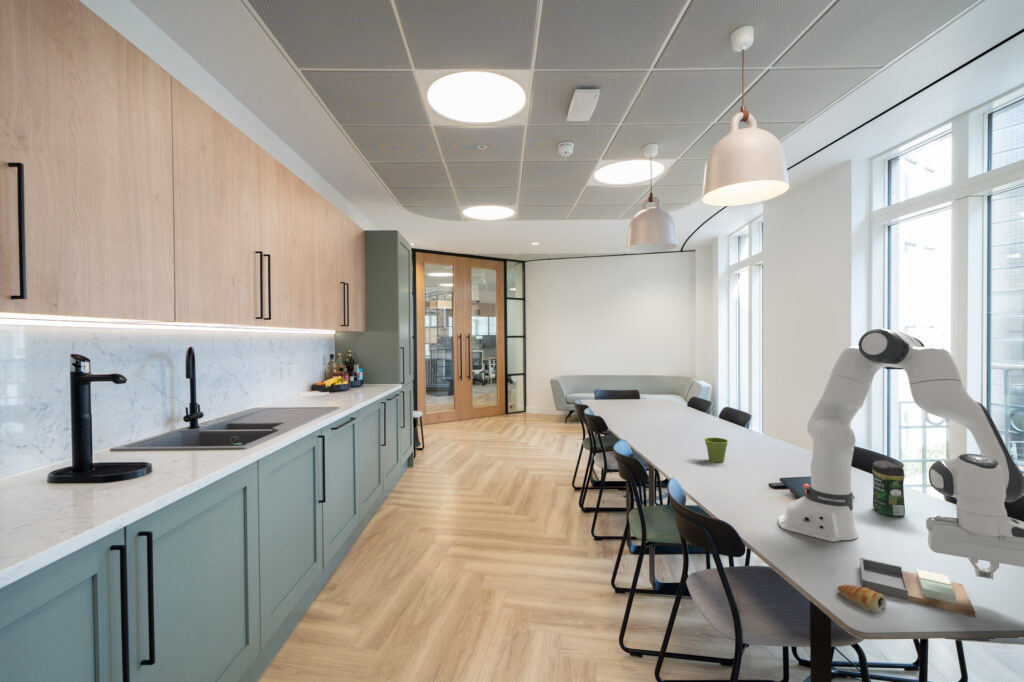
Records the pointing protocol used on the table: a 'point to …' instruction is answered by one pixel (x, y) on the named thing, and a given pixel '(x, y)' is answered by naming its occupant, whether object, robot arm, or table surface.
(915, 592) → the board
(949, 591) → the tile sage
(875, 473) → the coffee jar
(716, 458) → the plant pot
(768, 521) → the table surface
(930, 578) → the tile cream
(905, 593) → the tray
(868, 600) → the pastry
